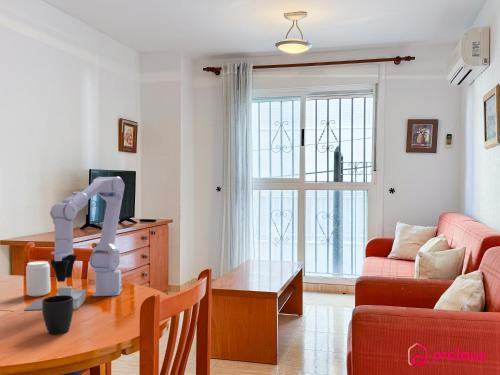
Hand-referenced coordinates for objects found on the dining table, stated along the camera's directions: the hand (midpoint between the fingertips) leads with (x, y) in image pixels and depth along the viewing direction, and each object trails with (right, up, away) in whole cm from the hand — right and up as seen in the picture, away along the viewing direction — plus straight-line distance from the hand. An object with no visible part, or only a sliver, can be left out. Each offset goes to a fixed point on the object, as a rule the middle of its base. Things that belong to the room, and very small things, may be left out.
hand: (64, 279), depth 160 cm
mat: (-10, -10, +6) cm, 15 cm away
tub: (0, -10, +5) cm, 11 cm away
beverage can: (-17, -10, +20) cm, 28 cm away
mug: (+6, -11, -21) cm, 24 cm away
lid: (0, -7, +5) cm, 8 cm away
